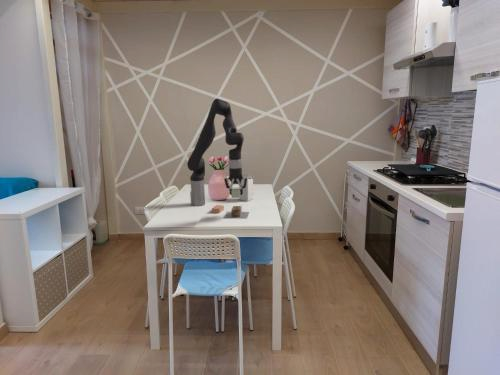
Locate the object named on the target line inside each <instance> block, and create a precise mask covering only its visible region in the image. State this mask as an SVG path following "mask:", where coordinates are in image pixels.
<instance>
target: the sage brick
mask: <svg viewBox="0 0 500 375" xmlns="http://www.w3.org/2000/svg"><path fill="white" fill-rule="evenodd" d="M231 193H232V195H231V198H232V199H238V198H239V199H240V196H241V195H240V187H237V186H236V187H235V186H234V187H233V186H232V190H231Z"/></svg>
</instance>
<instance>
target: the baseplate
mask: <svg viewBox="0 0 500 375" xmlns="http://www.w3.org/2000/svg"><path fill="white" fill-rule="evenodd" d="M249 214H250V211H242V213H241V216H240V217H232V214H231V211H226V213H225V214H224V216H223V219H238V220H239V219H240V220H241V219H248V217H249Z"/></svg>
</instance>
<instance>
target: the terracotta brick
mask: <svg viewBox="0 0 500 375" xmlns="http://www.w3.org/2000/svg"><path fill="white" fill-rule="evenodd" d="M224 208H225V206H224V205H222V204H221V205H220V204H216V205H214V206H213V207H212V208H211V213H212V214H221V213H222V212H223V211H224V210H225V209H224Z"/></svg>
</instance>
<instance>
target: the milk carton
mask: <svg viewBox="0 0 500 375" xmlns="http://www.w3.org/2000/svg"><path fill="white" fill-rule="evenodd" d="M242 176H243V178H247V183H246V187H245V188H243V194H242V195H241V196H240V198H239V201H243V202H244V201H246V202H250V201H251V200H254V179H253V177H252V175H251V174H250V173H242ZM241 184H242V186H244V181H243V179H242V181H241ZM238 186H239V185H238ZM239 187H240V186H239Z"/></svg>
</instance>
